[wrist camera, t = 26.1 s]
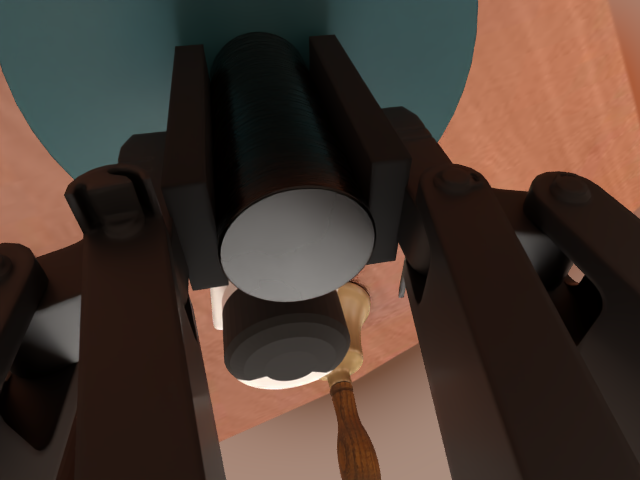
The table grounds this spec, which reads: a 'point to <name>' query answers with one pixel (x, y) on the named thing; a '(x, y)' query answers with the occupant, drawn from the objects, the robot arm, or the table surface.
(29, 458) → the robot arm
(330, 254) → the pot lid
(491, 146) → the table surface
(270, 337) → the medicine bottle
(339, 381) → the hand bell
